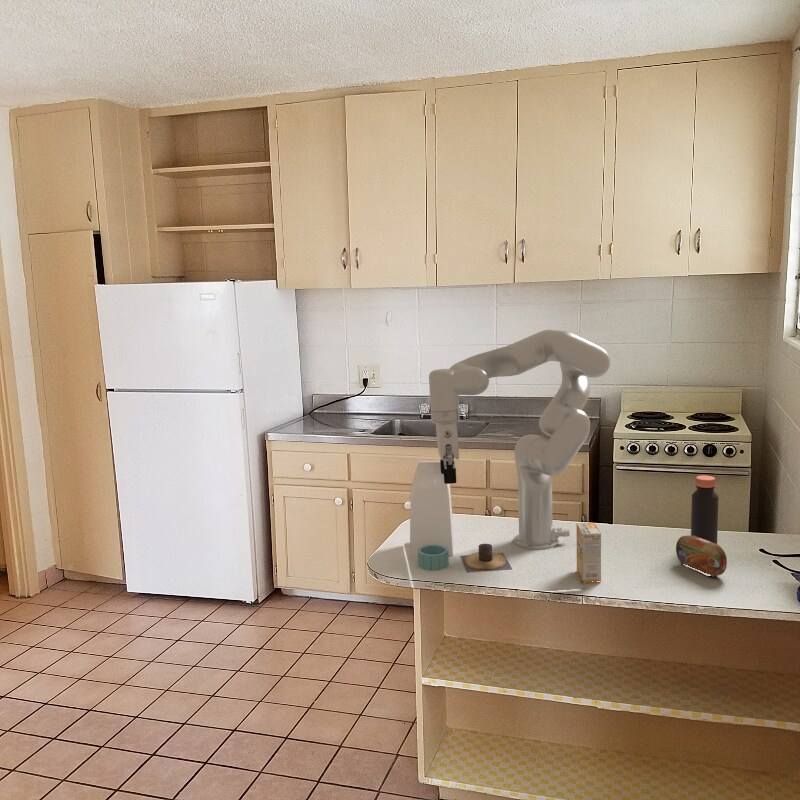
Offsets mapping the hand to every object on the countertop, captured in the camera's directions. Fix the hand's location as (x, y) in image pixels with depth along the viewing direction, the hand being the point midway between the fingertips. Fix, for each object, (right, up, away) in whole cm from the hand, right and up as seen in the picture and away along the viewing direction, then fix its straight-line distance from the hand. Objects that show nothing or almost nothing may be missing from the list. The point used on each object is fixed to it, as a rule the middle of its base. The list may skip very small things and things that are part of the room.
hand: (448, 478), depth 204 cm
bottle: (+71, -20, +5) cm, 74 cm away
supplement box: (+35, -24, -11) cm, 44 cm away
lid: (+10, -23, 0) cm, 25 cm away
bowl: (-4, -24, 0) cm, 24 cm away
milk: (-4, -22, +12) cm, 25 cm away
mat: (+10, -23, 0) cm, 25 cm away
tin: (+64, -23, -10) cm, 69 cm away
